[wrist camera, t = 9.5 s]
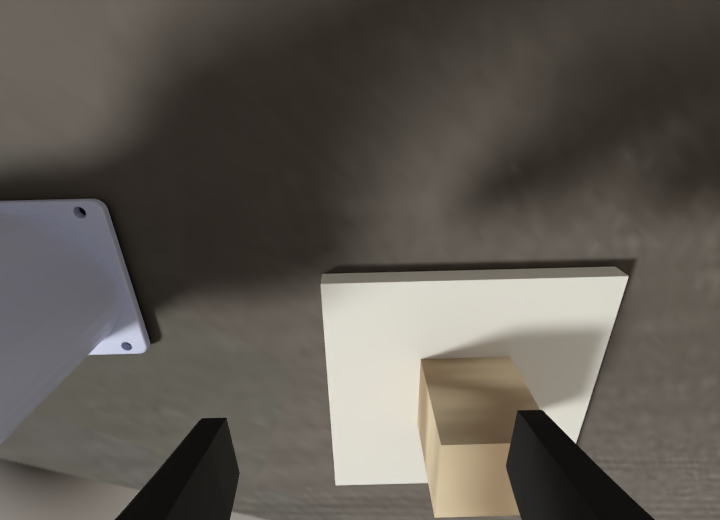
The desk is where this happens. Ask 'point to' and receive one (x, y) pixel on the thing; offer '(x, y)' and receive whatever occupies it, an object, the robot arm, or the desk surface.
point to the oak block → (470, 432)
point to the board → (454, 350)
